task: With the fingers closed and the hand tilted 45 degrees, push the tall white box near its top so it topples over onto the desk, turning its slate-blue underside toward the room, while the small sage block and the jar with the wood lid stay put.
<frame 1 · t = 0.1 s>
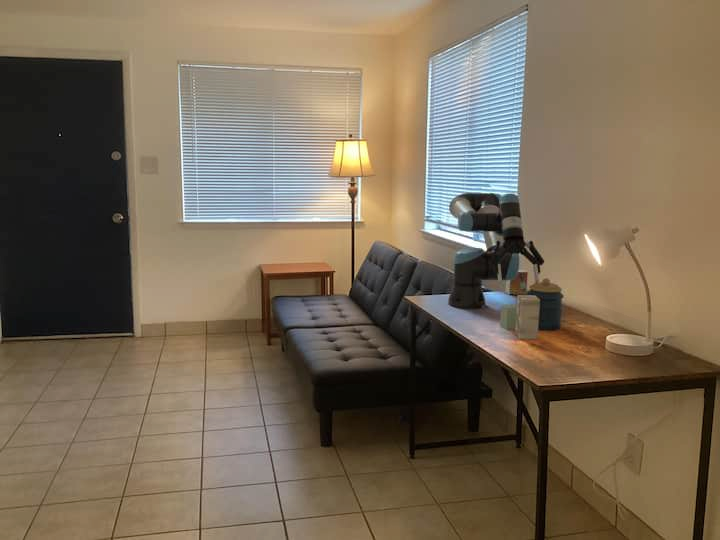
hand: (518, 281, 233), 16 cm above the table, tool tilted 35°, fingers open, 13 cm apart
small box: (515, 294, 287), on the table
canister: (542, 326, 232), on the table, touching gripper
sage block: (508, 327, 229), on the table
tall white box: (526, 337, 217), on the table
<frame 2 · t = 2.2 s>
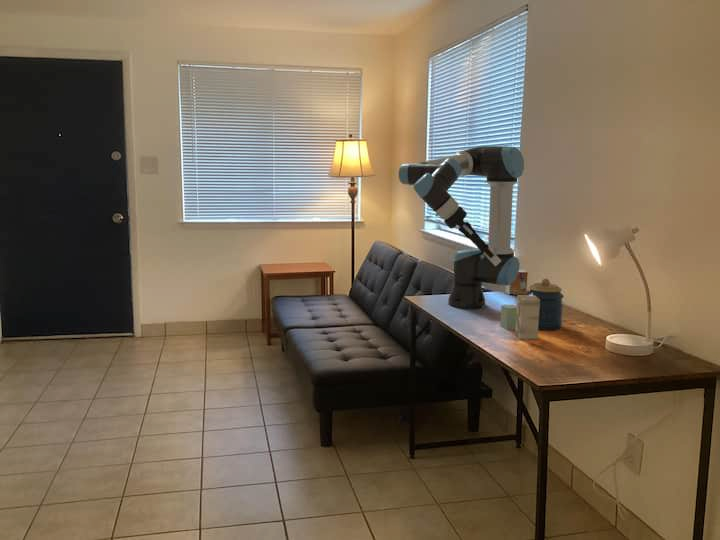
hand: (498, 263, 215), 25 cm above the table, tool tilted 45°, fingers closed
canister: (543, 326, 232), on the table
everything else where it was.
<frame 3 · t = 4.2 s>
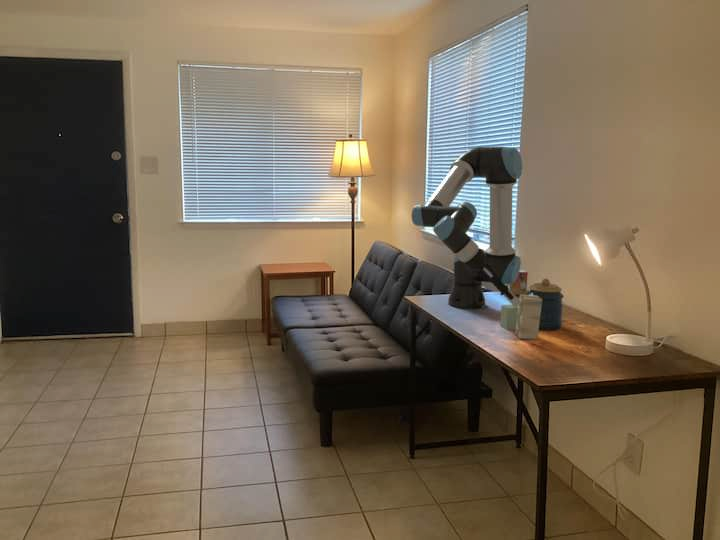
hand: (517, 304, 214), 11 cm above the table, tool tilted 45°, fingers closed
tall white box: (526, 336, 217), on the table, touching gripper
everything else where it was.
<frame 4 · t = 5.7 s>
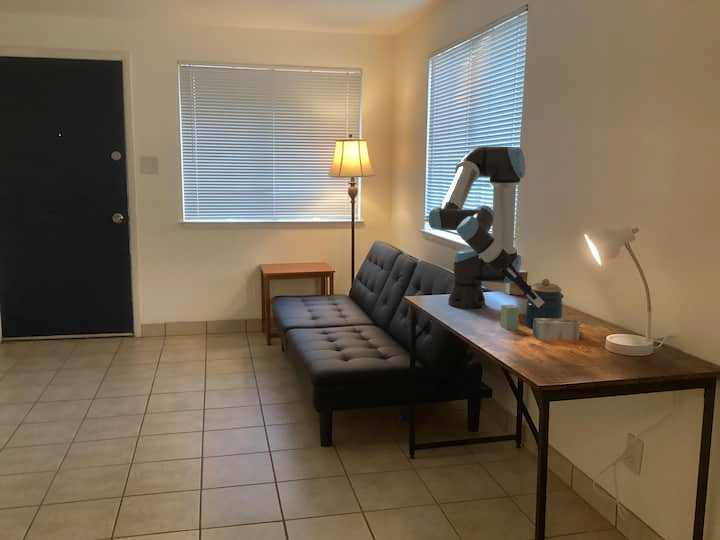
hand: (540, 304, 215), 12 cm above the table, tool tilted 45°, fingers closed
tall white box: (535, 329, 216), point 3 cm above the table, tilted 90°
everything else where it was.
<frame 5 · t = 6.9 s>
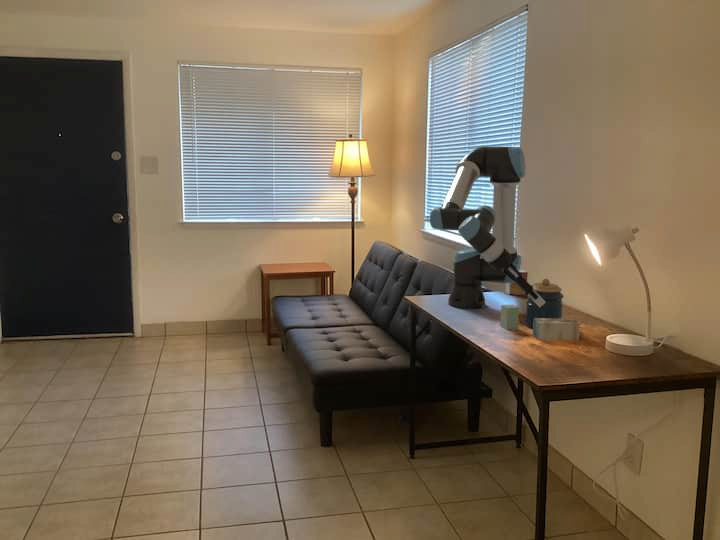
hand: (542, 304, 215), 12 cm above the table, tool tilted 45°, fingers closed
nothing on the table moved.
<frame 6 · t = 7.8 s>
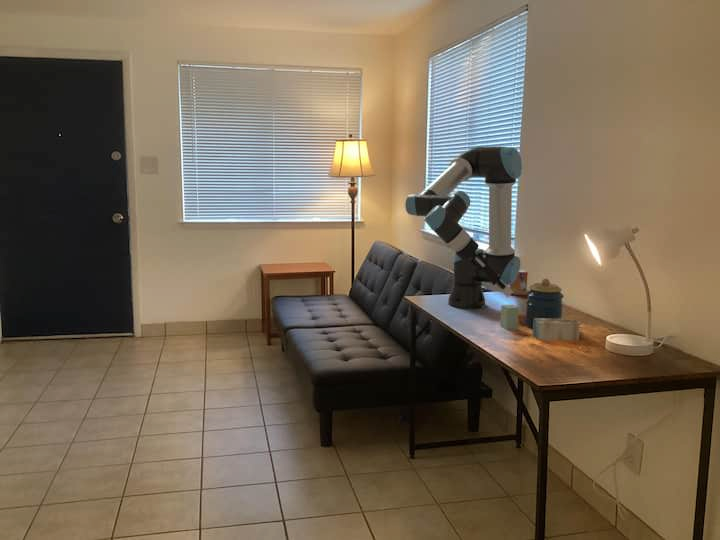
hand: (509, 294, 214), 15 cm above the table, tool tilted 45°, fingers closed
nothing on the table moved.
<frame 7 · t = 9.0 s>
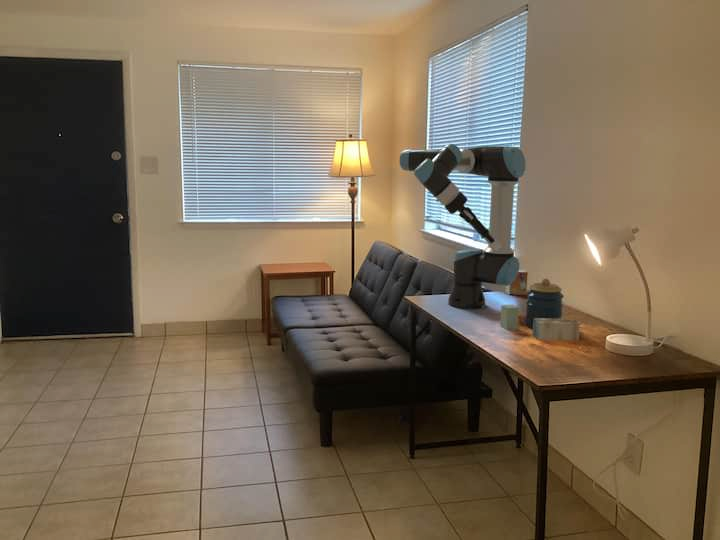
hand: (498, 248, 215), 30 cm above the table, tool tilted 45°, fingers closed
nothing on the table moved.
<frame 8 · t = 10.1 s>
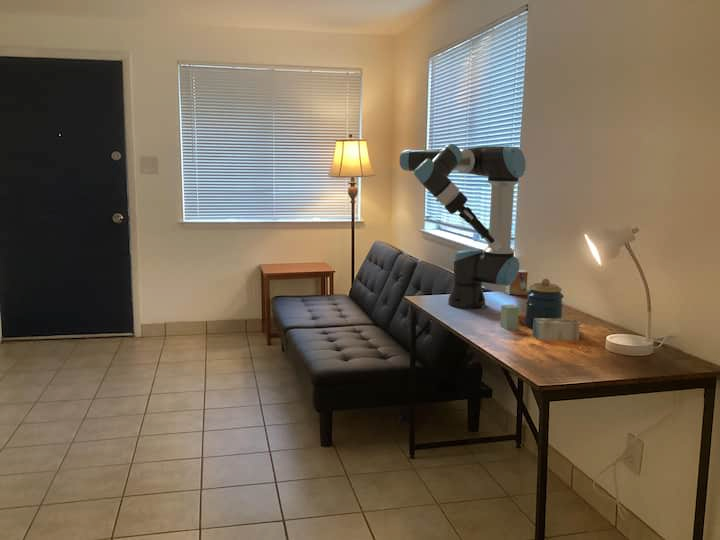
hand: (498, 248, 215), 30 cm above the table, tool tilted 45°, fingers closed
nothing on the table moved.
at the end: tall white box tilted 90°; tall white box inside the target area (6.6 cm from its centre), point 2.9 cm above the table; sage block moved 0.1 cm from its start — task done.
